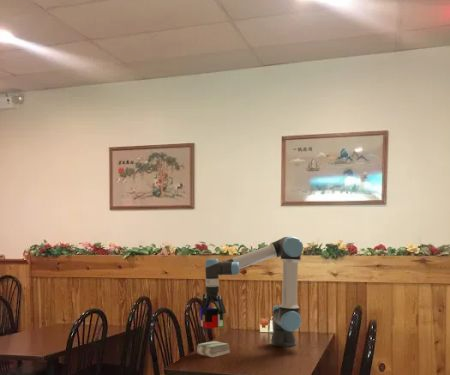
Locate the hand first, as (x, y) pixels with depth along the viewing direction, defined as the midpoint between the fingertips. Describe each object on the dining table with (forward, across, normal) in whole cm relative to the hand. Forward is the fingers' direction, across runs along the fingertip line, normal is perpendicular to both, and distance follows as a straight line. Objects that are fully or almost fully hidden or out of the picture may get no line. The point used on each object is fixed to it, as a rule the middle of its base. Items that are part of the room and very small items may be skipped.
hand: (212, 324), depth 267 cm
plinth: (+16, 0, 0) cm, 16 cm away
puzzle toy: (+1, 0, 0) cm, 1 cm away
